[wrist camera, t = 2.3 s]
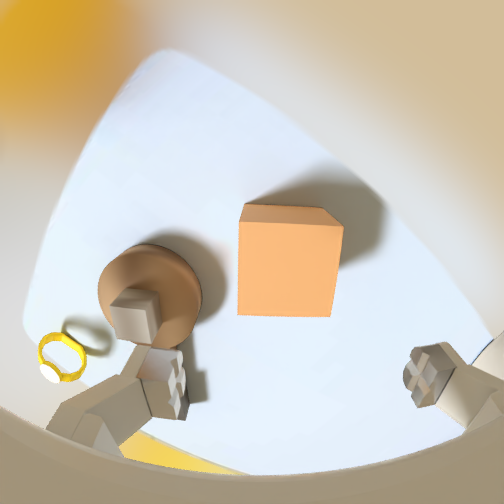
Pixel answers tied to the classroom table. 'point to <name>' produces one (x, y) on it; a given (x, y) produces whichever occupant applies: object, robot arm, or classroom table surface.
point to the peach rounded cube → (287, 261)
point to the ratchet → (151, 299)
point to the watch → (50, 369)
